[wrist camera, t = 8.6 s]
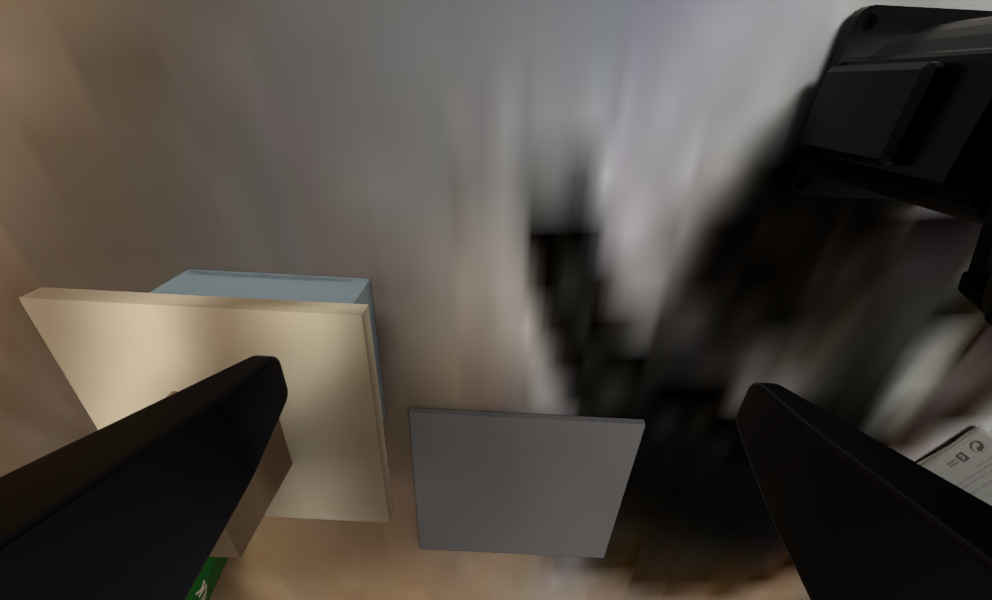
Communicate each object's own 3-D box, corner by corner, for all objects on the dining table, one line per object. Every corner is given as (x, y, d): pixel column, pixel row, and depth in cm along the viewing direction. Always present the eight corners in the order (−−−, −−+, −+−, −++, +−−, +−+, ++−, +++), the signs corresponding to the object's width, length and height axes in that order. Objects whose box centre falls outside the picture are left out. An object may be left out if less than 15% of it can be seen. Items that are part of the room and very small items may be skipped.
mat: (643, 419, 24) (645, 424, 23) (602, 552, 31) (603, 557, 30) (410, 407, 24) (409, 412, 23) (420, 543, 30) (419, 548, 30)
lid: (368, 304, 15) (312, 394, 10) (393, 507, 20) (364, 618, 16) (41, 287, 15) (-147, 370, 10) (159, 496, 20) (68, 603, 16)
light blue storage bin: (370, 278, 20) (331, 334, 15) (386, 412, 24) (359, 486, 20) (189, 269, 20) (98, 322, 15) (237, 405, 24) (177, 477, 20)
